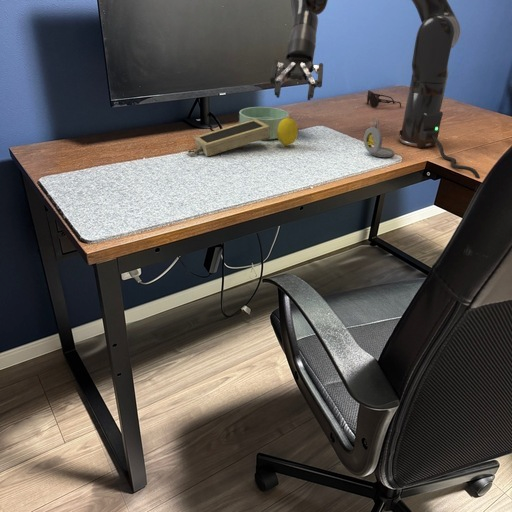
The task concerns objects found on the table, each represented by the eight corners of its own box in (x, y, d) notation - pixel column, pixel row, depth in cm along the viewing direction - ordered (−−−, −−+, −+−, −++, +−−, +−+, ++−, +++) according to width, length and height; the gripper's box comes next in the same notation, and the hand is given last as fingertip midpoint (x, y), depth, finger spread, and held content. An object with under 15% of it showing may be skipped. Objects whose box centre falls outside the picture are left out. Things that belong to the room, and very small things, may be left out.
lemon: (296, 144, 135) (299, 114, 131) (296, 150, 130) (298, 120, 126) (276, 142, 135) (278, 113, 131) (275, 148, 131) (277, 118, 127)
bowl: (296, 137, 140) (298, 116, 137) (253, 143, 134) (254, 121, 131) (271, 124, 151) (273, 105, 148) (230, 129, 145) (230, 109, 142)
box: (273, 143, 130) (271, 125, 127) (196, 168, 122) (192, 149, 119) (257, 135, 136) (255, 117, 133) (184, 158, 128) (180, 140, 125)
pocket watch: (396, 153, 131) (403, 116, 126) (387, 162, 125) (394, 123, 120) (367, 147, 134) (373, 111, 129) (356, 155, 128) (362, 117, 123)
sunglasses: (361, 101, 182) (365, 88, 180) (390, 105, 185) (394, 92, 183) (372, 108, 173) (376, 94, 171) (402, 113, 176) (406, 99, 174)
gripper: (275, 35, 133) (266, 87, 129) (327, 38, 131) (319, 91, 127) (277, 53, 140) (268, 103, 136) (326, 56, 138) (319, 107, 134)
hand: (293, 97), depth 132 cm, fingers open, 8 cm apart
